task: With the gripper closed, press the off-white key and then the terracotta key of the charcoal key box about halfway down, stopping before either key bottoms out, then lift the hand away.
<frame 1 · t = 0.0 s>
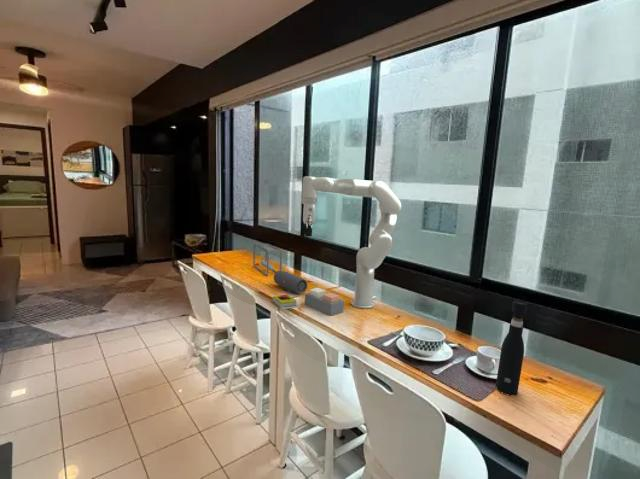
hand: (307, 234, 177), 37 cm above the table, tool pointing down, fingers open, 9 cm apart
emergency button: (284, 304, 182), on the table
bluetooth speaker: (289, 290, 206), on the table
key white: (317, 294, 181), point 6 cm above the table, slide at 0.0 cm
newton's cradle: (266, 271, 247), on the table
black water bottle: (506, 390, 114), on the table
key box: (323, 308, 178), on the table
key terracotta: (331, 299, 174), point 6 cm above the table, slide at 0.0 cm
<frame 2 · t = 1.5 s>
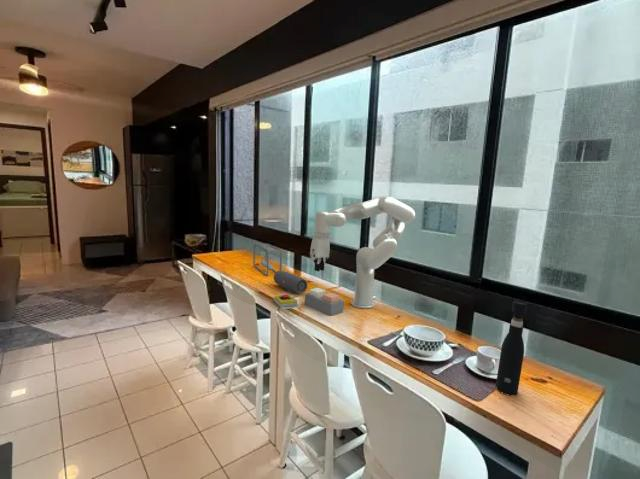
hand: (319, 270, 179), 19 cm above the table, tool pointing down, fingers closed
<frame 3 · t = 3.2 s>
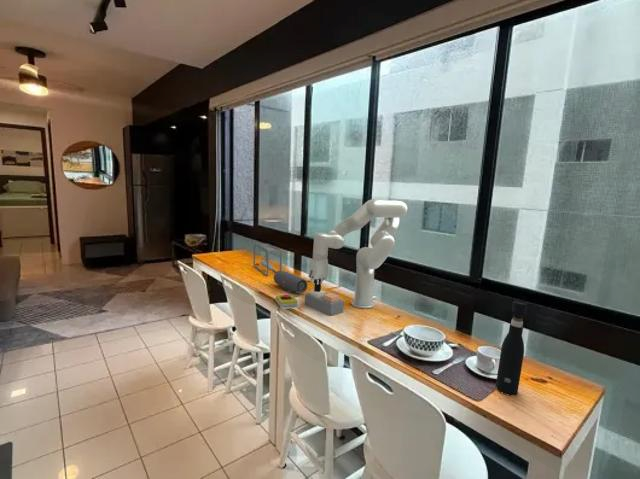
hand: (317, 291, 181), 8 cm above the table, tool pointing down, fingers closed
key white: (317, 295, 181), point 5 cm above the table, slide at 0.6 cm, touching gripper
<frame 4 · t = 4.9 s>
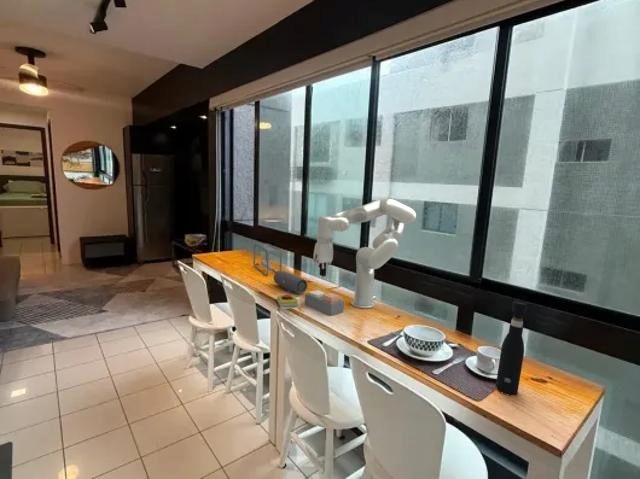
hand: (322, 275, 178), 17 cm above the table, tool pointing down, fingers closed
key white: (317, 297, 181), point 5 cm above the table, slide at 1.4 cm
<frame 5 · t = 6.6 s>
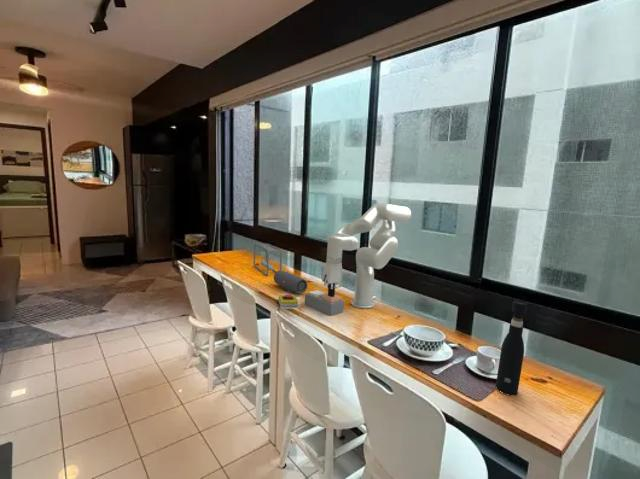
hand: (331, 295, 173), 8 cm above the table, tool pointing down, fingers closed
key terracotta: (331, 300, 174), point 6 cm above the table, slide at 0.3 cm, touching gripper
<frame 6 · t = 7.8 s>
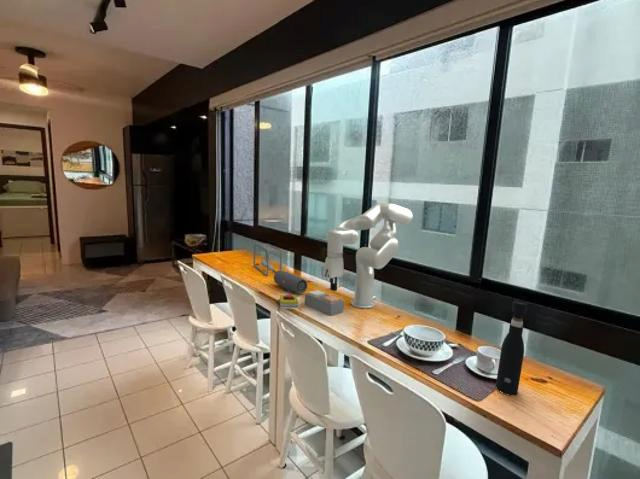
hand: (333, 290, 174), 11 cm above the table, tool pointing down, fingers closed
key terracotta: (331, 302, 174), point 5 cm above the table, slide at 1.4 cm
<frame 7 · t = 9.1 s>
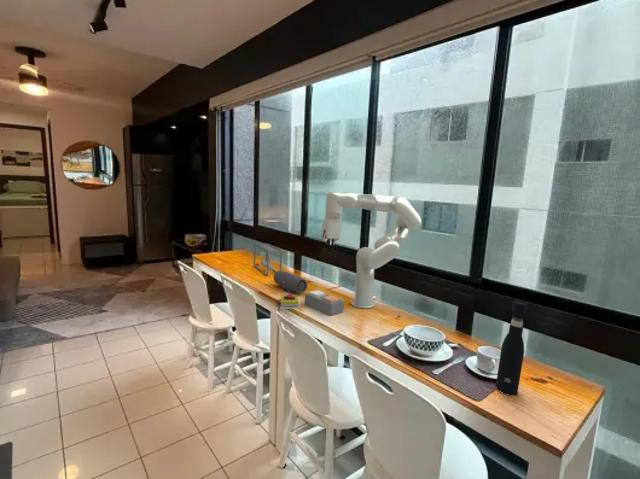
hand: (330, 251, 178), 29 cm above the table, tool pointing down, fingers closed
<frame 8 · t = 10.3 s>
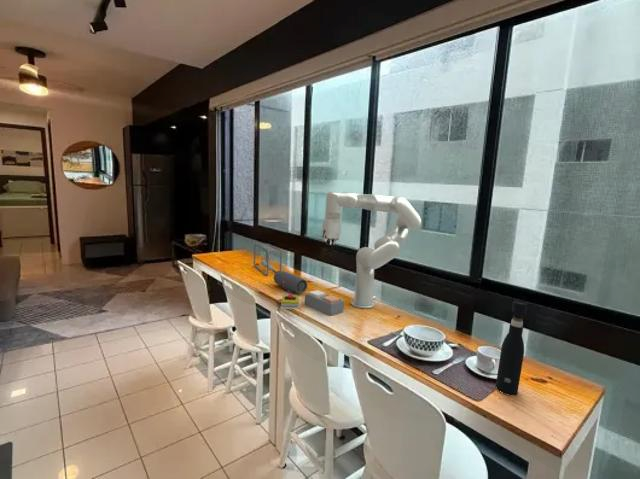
hand: (330, 251, 178), 29 cm above the table, tool pointing down, fingers closed
at the end: key white slide at 1.4 cm; key terracotta slide at 1.4 cm; emergency button moved 2.9 cm from its start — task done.
